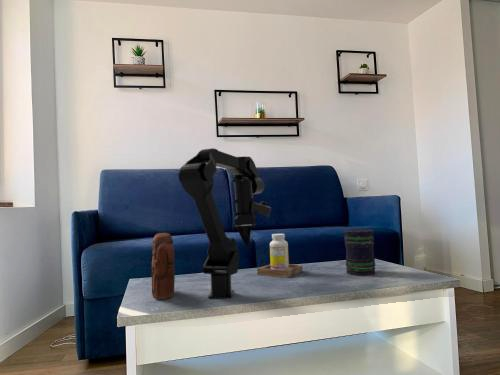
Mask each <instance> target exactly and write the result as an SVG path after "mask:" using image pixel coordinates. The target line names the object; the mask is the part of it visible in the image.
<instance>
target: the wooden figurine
mask: <svg viewBox="0 0 500 375" xmlns="http://www.w3.org/2000/svg"><path fill="white" fill-rule="evenodd" d="M151 249H152V256H151V257H152V260H151V294H152V297H153V298H155V300H164V299H165V300H166V299H170V298H172V297H173V296H174V295H175V280H176V279H175V278H176V276H175V274H176V273H175V271H176V270H175V248H174V240H173V237H172V235H171V234H170V233H168V232H158V233H156V234H155V235H154V237H153V238H152V248H151Z"/></svg>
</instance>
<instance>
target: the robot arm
mask: <svg viewBox="0 0 500 375" xmlns="http://www.w3.org/2000/svg"><path fill="white" fill-rule="evenodd" d="M218 168H222V169H225V170H227V171H228V173H229V174H231V175H232V176H233V177H232V178H231V180H230V182H231V183H234V184H233V185H234V198H235V199H234V203H235V210H236V211H235V212H236V213H235V215H236V217H234V225H235V228H236V229H237V233H238V234H239V235H240V238H241V240H242V242H243V244H244V246H245V247H249V246H250V240H251V231H252V229H254V227H255V226H256V224H257V223H256V214H258V215H261V216H264V217H266V218H269V217H270V214H271V210H272V207H270V205H269V206H268V203H267V202H266V201H261V202H260V203H258V202H255V199H254V195H258V194H261V193H262V192H264V190H265V187H266V185H265V181H264V180H263V179H262V178H261V177H260V173H259V171H258V169H257V166H256V163H255V161H254V160H253V158H252V157H251V156H235V155H233V154H230V153H226V152H223V151H220V150H219V149H217V148H214V147H213V148H204V149H201V150H199V151H198V152H197V154H196V155H195V156H193V157H192V158H190V159H189V160H187V161H186V162H185V163H184V164H182V166H181V167H180V168H179V171H178V174H177V176H178V180H179V183H180V184H181V187H182V188H183V190H184V192H186V193H187V194H188V195H189V196H190V197H191V198H192V199H193V200H194V203H195V206H196V210H197V211H198V214H199V217H200V220H201V223H202V225H203V228H204V231H205V234H206V235H207V239H208V242H209V245H208V248H207V253H206V254H207V257H206V258H205V259H206V260H205V261H204V264H203V265H202V271H203V274H205V275H207V274H208V275H210V291H211V292H210V293H209V294H208V296H207V298H208V299H231V298H233V295H234V293H235V290H233V289H232V275H235V274H238V271H239V264H240V253H239V251H238V250H239V247H238V245H237V242H236V239H235V238H234V237H227V234H226V232H225V228H224V226H223V223H222V219H221V217H220V215H219V214H220V213H219V211H218V208H217V205H216V202H215V199H214V196H213V192H212V190H213V186H214V184H215V183H214V182H215V181H214V175H215V174H216V172H217V171H218V170H217V169H218Z"/></svg>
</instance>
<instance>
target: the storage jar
mask: <svg viewBox="0 0 500 375" xmlns="http://www.w3.org/2000/svg"><path fill="white" fill-rule="evenodd" d="M374 241H375V237H374V229H369V228H350V229H344V247H345V253H346V254H345V256H346V257H345V267H346V268H345V269H346V272H345V273H346V274H347V275H348V276H355V277H371V276H375V275H376V262H375V261H376V260H375V252H374V246H375V242H374Z"/></svg>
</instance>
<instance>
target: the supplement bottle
mask: <svg viewBox="0 0 500 375" xmlns="http://www.w3.org/2000/svg"><path fill="white" fill-rule="evenodd" d="M271 239H272V240H271V241H270V242H269V258H270V260H269V262H270V264H271V269H275V270H288V269H289V264H290V259H289V258H290V257H289V243H288V241H286V240H285V239H286V235H285V233H272V234H271Z"/></svg>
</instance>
